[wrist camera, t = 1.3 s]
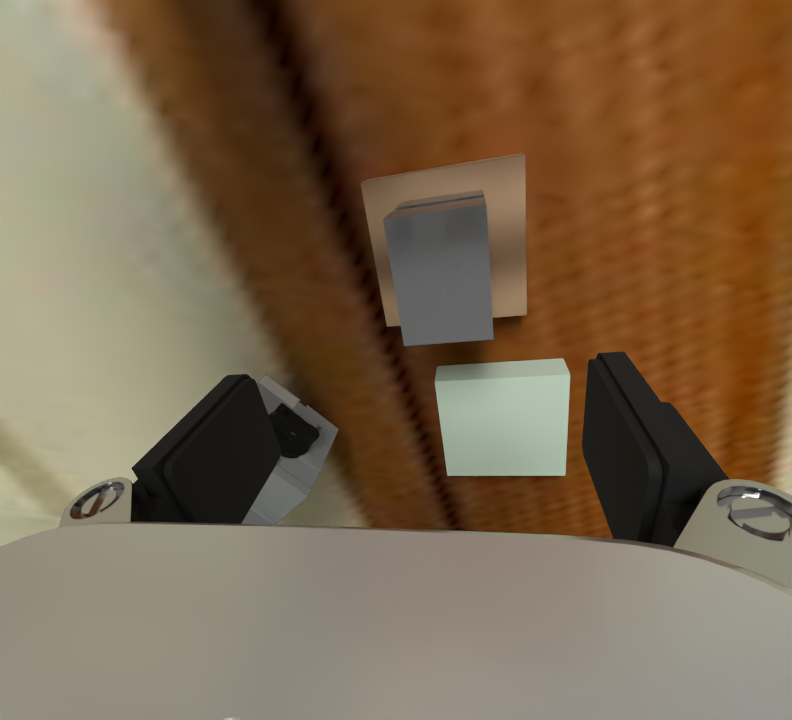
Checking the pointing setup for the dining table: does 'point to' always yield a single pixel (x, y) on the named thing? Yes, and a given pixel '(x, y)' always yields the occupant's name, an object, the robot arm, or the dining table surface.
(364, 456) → the dining table surface
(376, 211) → the stand walnut
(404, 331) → the block
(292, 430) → the circuit breaker
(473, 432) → the stand green
